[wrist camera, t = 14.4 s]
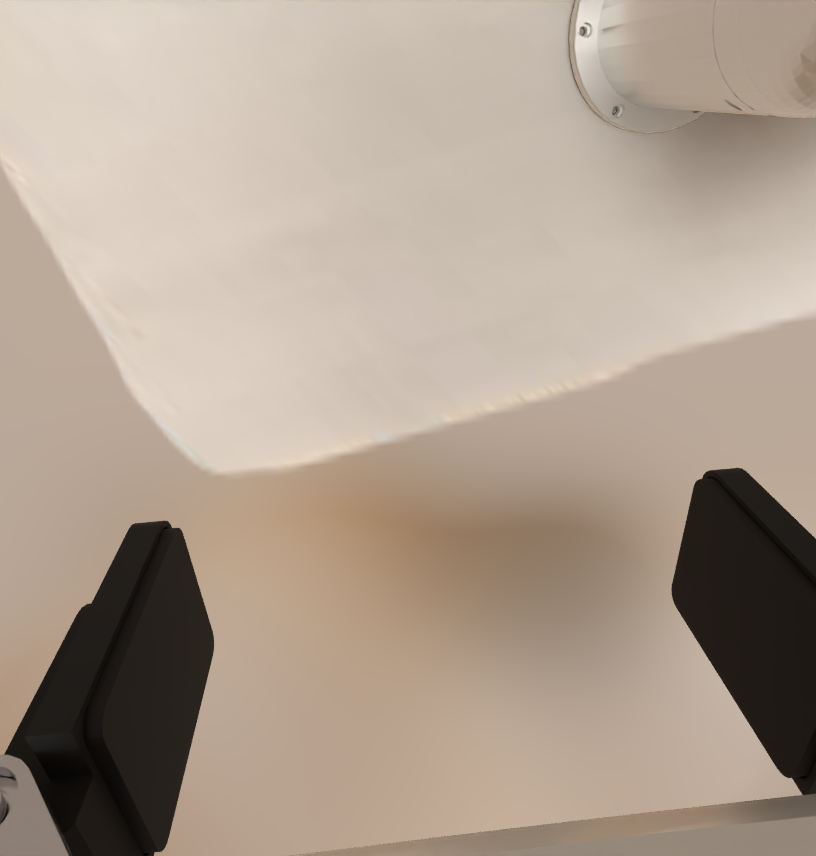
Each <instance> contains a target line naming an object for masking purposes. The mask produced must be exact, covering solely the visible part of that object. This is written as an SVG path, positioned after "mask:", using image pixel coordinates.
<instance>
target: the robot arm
mask: <svg viewBox="0 0 816 856" xmlns="http://www.w3.org/2000/svg"><path fill="white" fill-rule="evenodd" d="M581 27H583V28H584V29H585V33H584V35H583V36H581V35H580V34H579V30H580V28H581ZM569 45H570V60H571V64H572V69H573V73H574V77H575V80H576V82H577V85H578V87H579V89H580V91H581V94H582V96H583V97H584V98H585V100H586V101H587V103H588V104H589V106H590V107H591V108H592V109H593V110H594V111H595V112H596V113H597V114H598V115H599V116H600V117H601V118H602V119H604V120H605V121H607V122H609V123H611V124H612V125H614V126H616V127H618V128H622V129H625V130H629V131H632V132H641V133H656V132H664V131H668V130H672V129H675V128H679V127H681V126H683V125H685V124H687V123H689V122H691V121H693V120H695V119H697V118H698V117H700V116H701V115H702V114H704V113H705V112H720V113H735V114H750V115H765V116H779V117H792V118H810V117H816V0H576V1H575V4H574V8H573V12H572V16H571V25H570V34H569ZM614 107H616V108H617V112H616V113H615V114H614V115H613V113H612V111H613V108H614ZM672 597H673V601H674V604H675V606H676V608H677V609H678V611H679V612H680V614H681V616H682V617H683V619H684V620H685V622H686V624H687V625H688V627H689V628H690V630H691V631H692V633H693V635H694V636H695V638H696V640H697V641H698V642H699V644H700V646H701V648H702V649H703V651H704V652H705V654H706V656H707V657H708V659H709V660H710V662H711V663H712V665H713V667H714V668H715V670H716V672H717V673H718V675H719V676H720V678H721V679H722V681H723V683H724V684H725V686H726V687H727V689H728V691H729V692H730V694H731V695H732V697H733V699H734V700H735V702H736V703H737V705H738V707H739V708H740V710H741V711H742V713H743V715H744V716H745V718H746V719H747V721H748V722H749V724H750V726H751V727H752V729H753V730H754V732H755V734H756V735H757V737H758V739H759V740H760V742H761V743H762V745H763V746H764V748H765V750H766V751H767V753H768V754H769V756H770V758H771V759H772V761H773V762H774V764H775V766H776V767H777V769H778V770H779V771H780V772H781V773H782V774H783V775H784V776H785V777H788V778H792V779H793V780H794V782H795V783H796V785H797V787H798V788H799V790H800V791H801V793H802V794H803V795H801V796H790V797H781V798H772V799H764V800H754V801H745V802H737V803H728V804H719V805H710V806H701V807H692V808H683V809H674V810H666V811H658V812H648V813H639V814H630V815H622V816H613V817H605V818H596V819H588V820H580V821H571V822H562V823H554V824H545V825H537V826H529V827H520V828H511V829H503V830H495V831H487V832H478V833H470V834H462V835H453V836H444V837H436V838H429V839H420V840H412V841H404V842H396V843H388V844H380V845H372V846H364V847H355V848H347V849H340V850H332V851H323V852H315V853H307V854H299V855H291V856H816V539H815V538H814V537H813V536H812V535H811V534H810V533H809V532H808V531H807V530H806V529H805V528H804V527H803V526H802V525H801V524H800V523H799V522H798V521H797V520H796V519H795V518H794V517H793V516H791V514H789V512H787V511H786V510H785V509H784V508H783V507H782V506H781V505H780V504H779V503H778V502H777V501H776V500H775V499H774V498H773V497H772V496H771V495H770V494H769V493H768V492H767V491H766V490H765V489H764V488H763V487H762V486H761V485H760V484H759V483H757V481H756V480H754V479H753V478H752V477H751V476H750V475H749V474H748V473H747V472H746V471H745V470H743V469H741V468H733V469H721V470H710V471H708V472H706V473H705V474H704V475H703V478H702V479H700V480H697V481H696V483H695V485H694V488H693V493H692V497H691V502H690V506H689V511H688V515H687V520H686V525H685V529H684V533H683V538H682V542H681V547H680V551H679V556H678V561H677V565H676V570H675V574H674V578H673V583H672ZM213 651H214V637H213V631H212V628H211V625H210V622H209V618H208V615H207V612H206V608H205V605H204V602H203V598H202V595H201V592H200V589H199V585H198V582H197V579H196V575H195V572H194V569H193V565H192V562H191V559H190V556H189V552H188V549H187V546H186V542H185V539H184V536H183V533H182V531H181V529H180V528H172V527H171V525H170V524H169V522H168V521H158V522H146V523H135V524H133V525H131V527H130V528H129V530H128V532H127V534H126V536H125V538H124V540H123V542H122V544H121V546H120V548H119V550H118V552H117V554H116V556H115V558H114V560H113V562H112V564H111V566H110V568H109V570H108V572H107V574H106V576H105V578H104V580H103V582H102V584H101V586H100V588H99V590H98V592H97V594H96V596H95V598H94V600H93V602H92V604H87V605H85V606H84V607H82V608H81V610H80V611H79V613H78V614H77V615H76V618H75V619H74V622H73V623H72V625H71V627H70V629H69V631H68V633H67V635H66V637H65V639H64V640H63V642H62V644H61V646H60V648H59V650H58V652H57V654H56V656H55V658H54V660H53V662H52V664H51V666H50V667H49V669H48V671H47V673H46V675H45V677H44V679H43V681H42V683H41V685H40V687H39V689H38V691H37V693H36V694H35V696H34V698H33V700H32V702H31V704H30V706H29V708H28V710H27V712H26V714H25V716H24V718H23V719H22V721H21V723H20V725H19V727H18V729H17V731H16V733H15V735H14V737H13V739H12V741H11V743H10V745H9V746H8V748H7V750H6V752H5V754H4V755H0V856H154V852H161V851H163V850H164V848H165V846H166V844H167V841H168V838H169V834H170V830H171V825H172V821H173V817H174V813H175V809H176V805H177V801H178V797H179V792H180V789H181V784H182V780H183V776H184V772H185V767H186V764H187V759H188V756H189V751H190V747H191V743H192V739H193V735H194V731H195V727H196V723H197V718H198V714H199V710H200V706H201V702H202V698H203V694H204V690H205V685H206V681H207V677H208V673H209V669H210V665H211V661H212V656H213Z"/></svg>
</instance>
